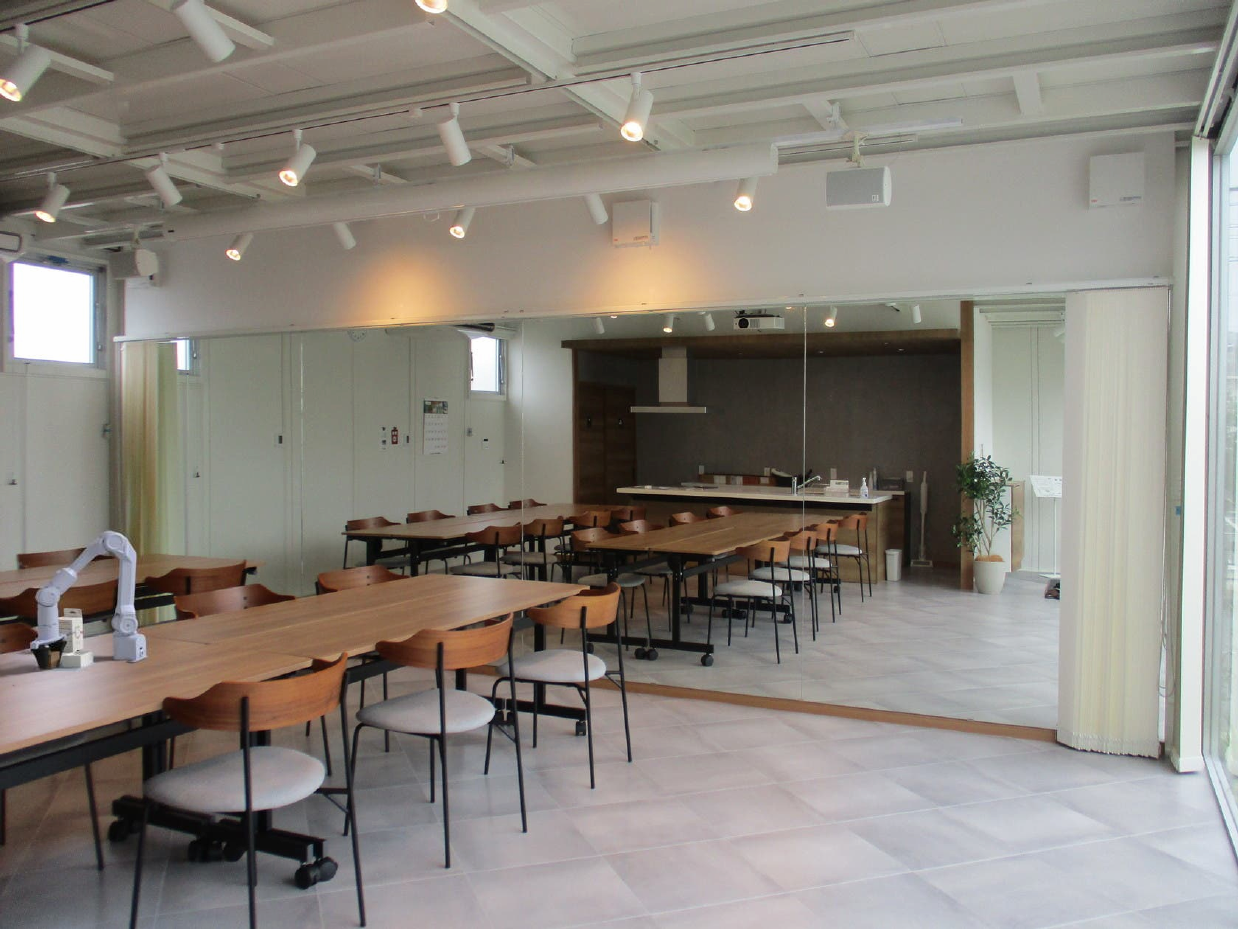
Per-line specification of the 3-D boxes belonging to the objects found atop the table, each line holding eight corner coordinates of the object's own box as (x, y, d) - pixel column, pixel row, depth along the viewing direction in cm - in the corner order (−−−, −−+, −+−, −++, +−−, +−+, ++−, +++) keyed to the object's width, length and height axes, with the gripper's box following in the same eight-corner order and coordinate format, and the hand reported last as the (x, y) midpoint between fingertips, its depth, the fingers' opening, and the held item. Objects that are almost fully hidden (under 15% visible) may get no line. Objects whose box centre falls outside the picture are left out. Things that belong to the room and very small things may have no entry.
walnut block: (59, 666, 304) (59, 651, 304) (51, 669, 300) (50, 654, 300) (48, 666, 304) (47, 651, 304) (39, 669, 300) (39, 654, 300)
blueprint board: (97, 665, 309) (97, 651, 309) (76, 673, 298) (75, 658, 298) (57, 665, 310) (57, 650, 310) (34, 673, 299) (34, 658, 299)
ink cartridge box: (53, 651, 331) (51, 610, 331) (64, 648, 336) (63, 607, 336) (72, 652, 329) (71, 611, 329) (84, 649, 334) (82, 608, 333)
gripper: (51, 620, 309) (53, 660, 310) (20, 628, 295) (22, 671, 295) (72, 620, 309) (73, 660, 309) (41, 629, 294) (43, 671, 295)
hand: (49, 666), depth 302 cm, fingers open, 6 cm apart
